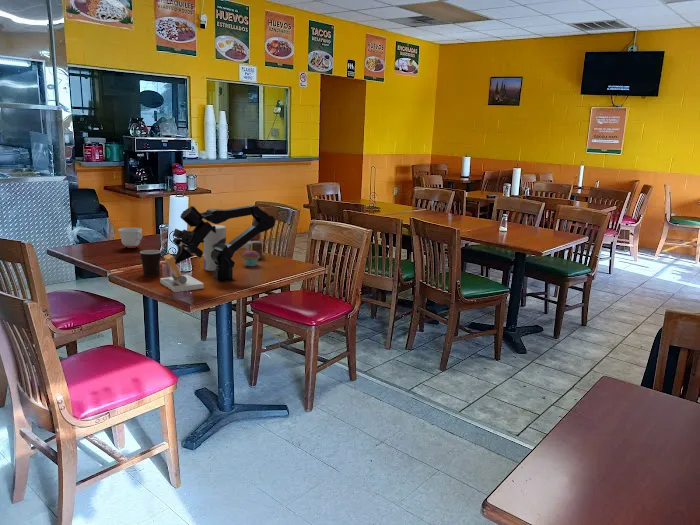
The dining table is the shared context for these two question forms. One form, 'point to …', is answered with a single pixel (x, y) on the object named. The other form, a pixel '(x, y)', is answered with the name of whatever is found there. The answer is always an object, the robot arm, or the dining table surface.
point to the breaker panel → (181, 283)
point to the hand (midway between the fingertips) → (173, 263)
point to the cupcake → (251, 257)
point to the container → (213, 245)
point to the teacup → (130, 236)
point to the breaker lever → (172, 265)
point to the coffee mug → (151, 262)
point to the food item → (255, 246)
